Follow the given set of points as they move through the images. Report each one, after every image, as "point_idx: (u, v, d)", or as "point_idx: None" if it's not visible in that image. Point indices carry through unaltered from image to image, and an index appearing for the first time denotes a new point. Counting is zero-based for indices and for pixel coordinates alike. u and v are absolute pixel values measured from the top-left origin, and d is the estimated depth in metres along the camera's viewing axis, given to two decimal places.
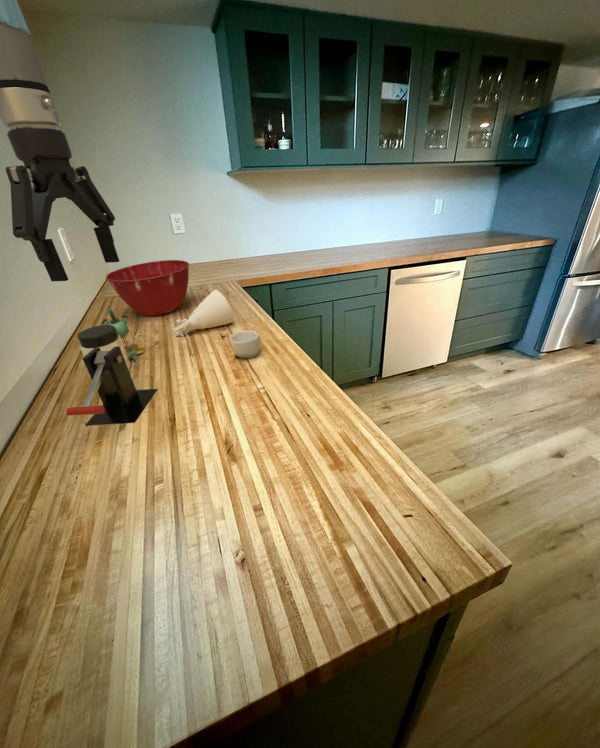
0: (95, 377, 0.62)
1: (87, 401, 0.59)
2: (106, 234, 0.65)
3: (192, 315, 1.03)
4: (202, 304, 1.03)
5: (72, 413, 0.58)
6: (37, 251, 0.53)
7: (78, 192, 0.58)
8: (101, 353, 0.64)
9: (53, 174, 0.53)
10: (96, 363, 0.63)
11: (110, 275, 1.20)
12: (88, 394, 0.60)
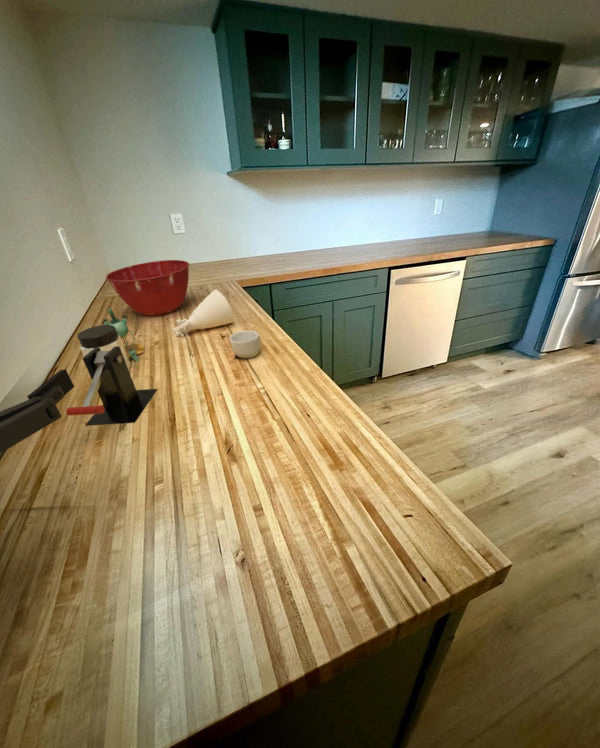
0: (95, 377, 0.62)
1: (87, 401, 0.59)
2: None
3: (192, 315, 1.03)
4: (202, 304, 1.03)
5: (72, 413, 0.58)
6: None
7: None
8: (101, 353, 0.64)
9: None
10: (96, 363, 0.63)
11: (110, 275, 1.20)
12: (88, 394, 0.60)
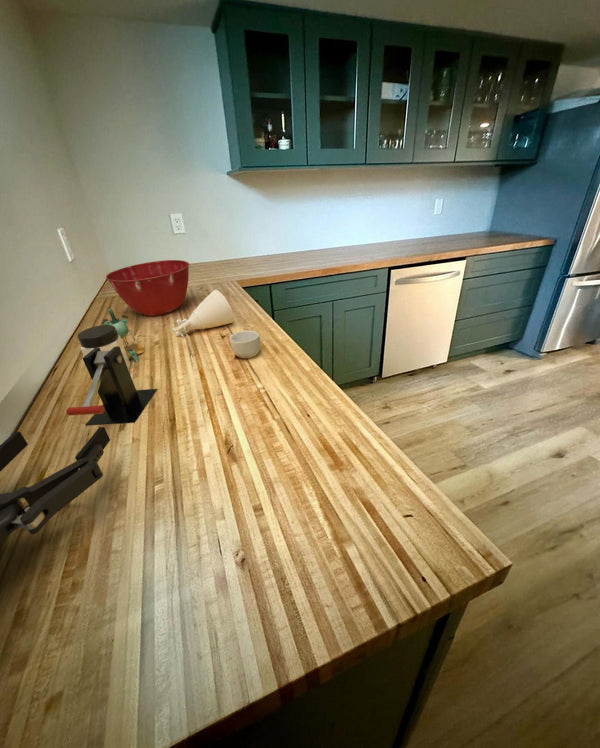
0: (95, 377, 0.62)
1: (87, 401, 0.59)
2: None
3: (192, 315, 1.03)
4: (202, 304, 1.03)
5: (72, 413, 0.58)
6: None
7: None
8: (101, 353, 0.64)
9: None
10: (96, 363, 0.63)
11: (110, 275, 1.20)
12: (88, 394, 0.60)
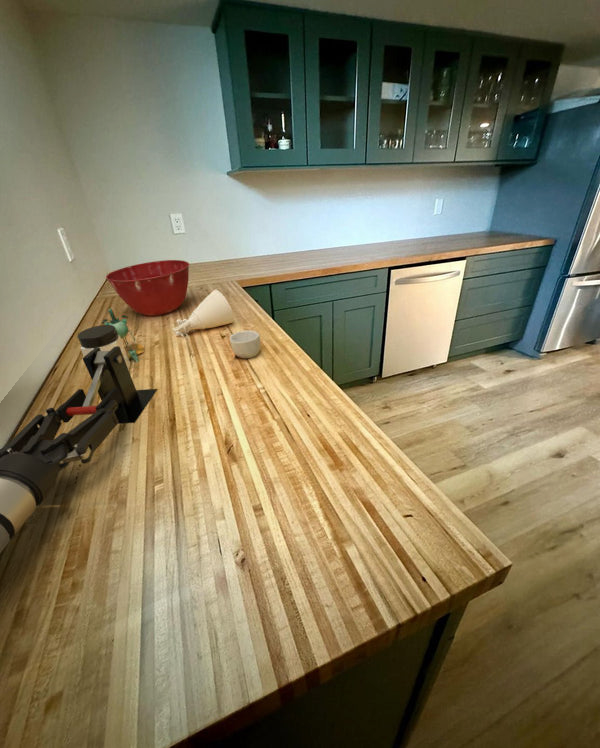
0: (95, 377, 0.62)
1: (87, 401, 0.59)
2: None
3: (192, 315, 1.03)
4: (202, 304, 1.03)
5: (72, 413, 0.58)
6: None
7: None
8: (101, 353, 0.64)
9: None
10: (96, 363, 0.63)
11: (110, 275, 1.20)
12: (88, 394, 0.60)
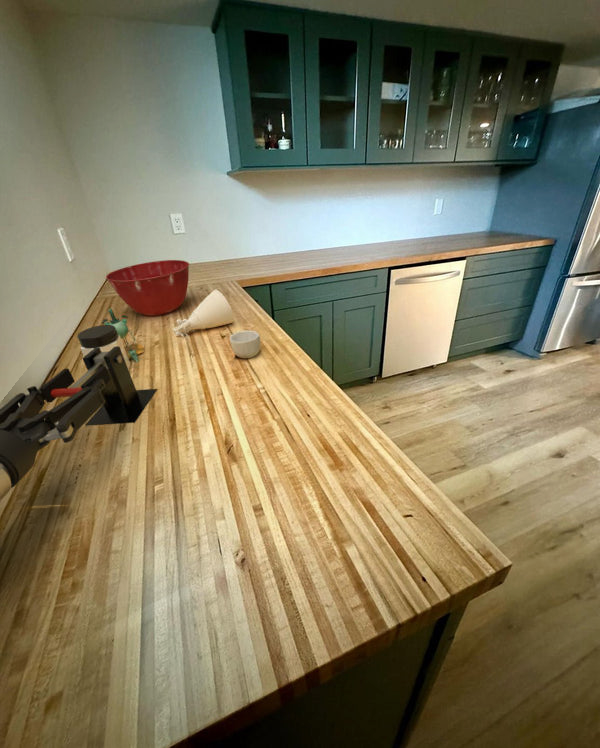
0: (91, 369, 0.61)
1: (76, 384, 0.57)
2: None
3: (192, 315, 1.03)
4: (202, 304, 1.03)
5: (56, 393, 0.55)
6: None
7: None
8: (103, 353, 0.65)
9: None
10: (95, 359, 0.63)
11: (110, 275, 1.20)
12: (79, 380, 0.58)
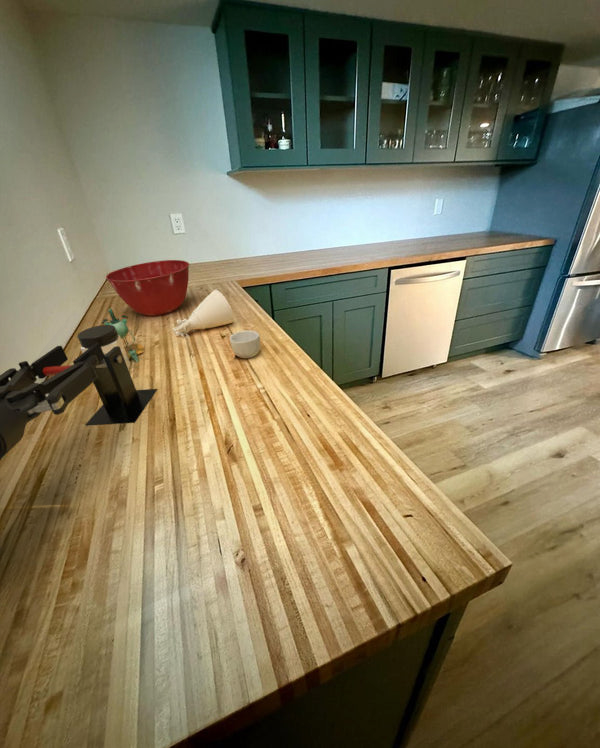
0: None
1: None
2: None
3: (192, 315, 1.03)
4: (202, 304, 1.03)
5: (48, 369, 0.54)
6: None
7: None
8: (105, 353, 0.65)
9: None
10: None
11: (110, 275, 1.20)
12: None
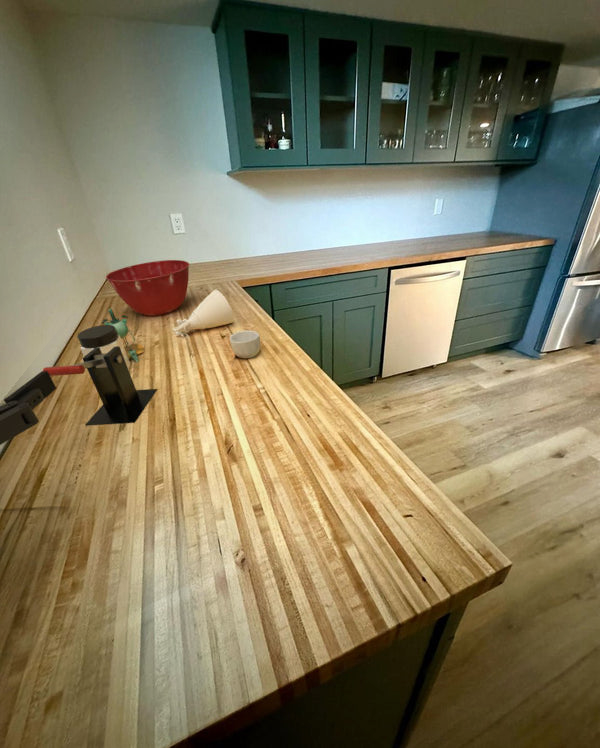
0: (89, 361, 0.61)
1: (70, 366, 0.56)
2: None
3: (192, 315, 1.03)
4: (202, 304, 1.03)
5: (48, 370, 0.54)
6: None
7: None
8: (105, 353, 0.65)
9: None
10: (96, 356, 0.63)
11: (110, 275, 1.20)
12: (74, 364, 0.57)
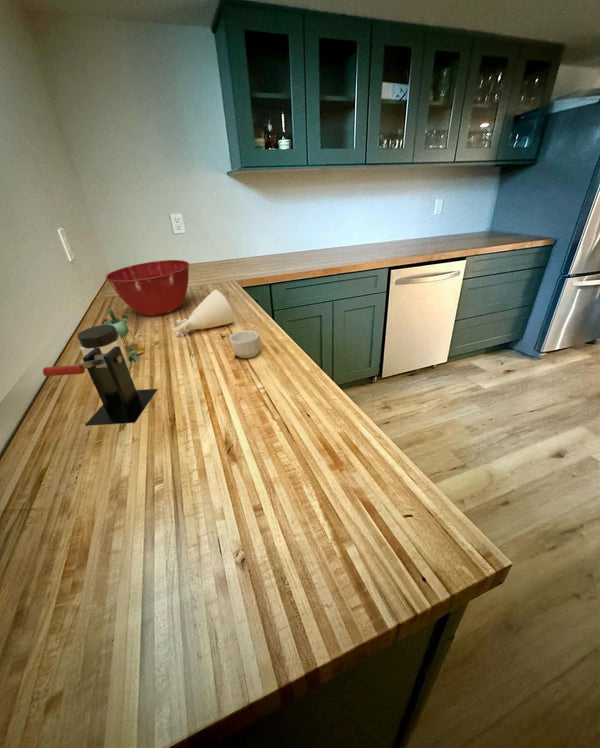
0: (89, 361, 0.61)
1: (70, 366, 0.56)
2: None
3: (192, 315, 1.03)
4: (202, 304, 1.03)
5: (48, 370, 0.54)
6: None
7: None
8: (105, 353, 0.65)
9: None
10: (96, 356, 0.63)
11: (110, 275, 1.20)
12: (74, 364, 0.57)
